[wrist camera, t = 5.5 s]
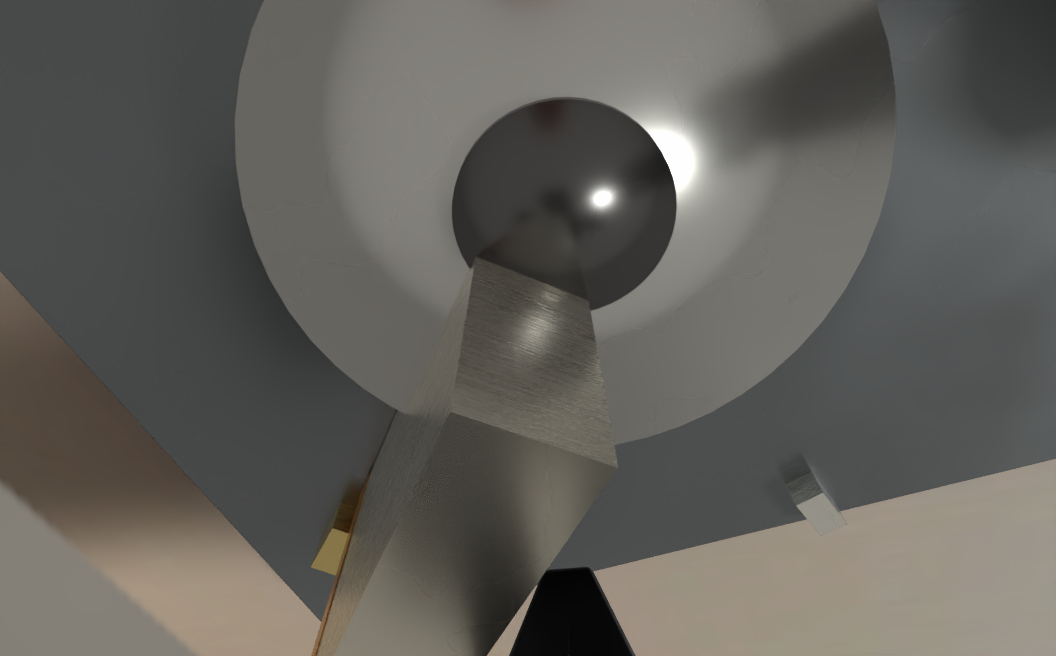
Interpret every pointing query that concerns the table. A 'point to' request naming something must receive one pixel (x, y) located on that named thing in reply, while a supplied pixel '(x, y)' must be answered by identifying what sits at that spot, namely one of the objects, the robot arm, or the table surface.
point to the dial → (545, 252)
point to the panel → (643, 465)
